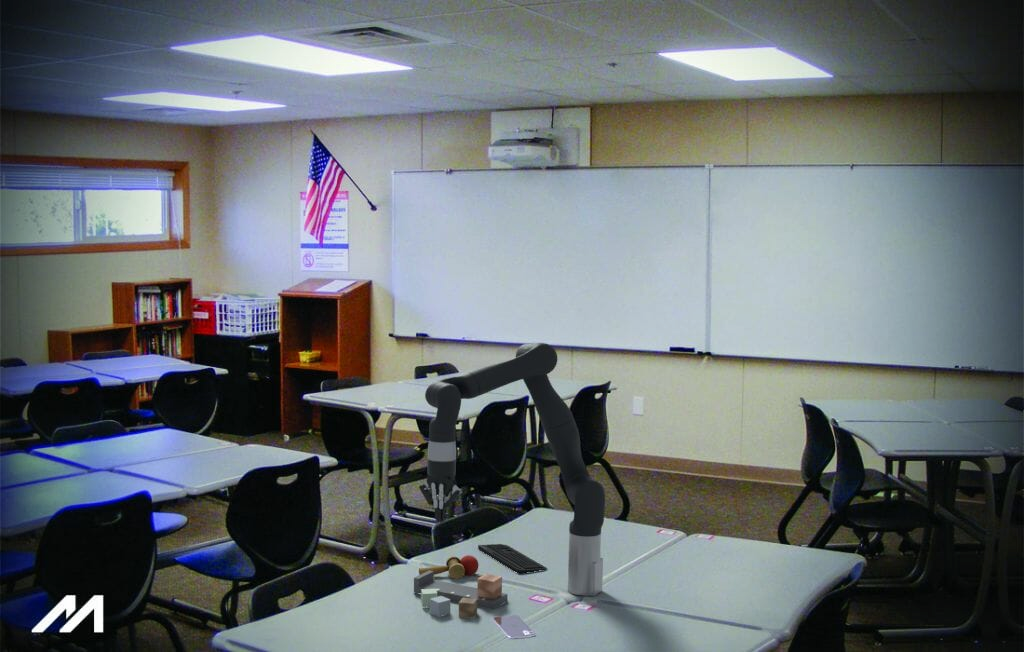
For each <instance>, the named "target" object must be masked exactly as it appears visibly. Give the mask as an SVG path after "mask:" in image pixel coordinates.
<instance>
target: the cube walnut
mask: <svg viewBox="0 0 1024 652" xmlns="http://www.w3.org/2000/svg"><path fill="white" fill-rule="evenodd" d="M477 614H478V606H477V599H474V598H462V599H461V600H460V602H458V617H459V618H468V619H469V618H470V619H474V618H475V616H476V615H477Z"/></svg>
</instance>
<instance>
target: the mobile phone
mask: <svg viewBox="0 0 1024 652" xmlns="http://www.w3.org/2000/svg"><path fill="white" fill-rule="evenodd" d="M492 622H494V624H495V623H496V624H495V625H496V626H497V628H499V629H500V630H501V632H502V631H503V632H502V634H504V635H505V637H506V638H507V639H509V640H515V639H514V638H518V639H522V638H521V637H527V636H534V635H536V636H537V634H536V632H535V631H534V630H533V629H532V628H531V627H530V626H529V625H528V624H527V623H526V622H525V621H524V619H522V618H521V616H519V615H515V614H514V615H507V616H506V615H504V616H496V617H493V618H492Z"/></svg>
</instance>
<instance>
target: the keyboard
mask: <svg viewBox="0 0 1024 652" xmlns="http://www.w3.org/2000/svg"><path fill="white" fill-rule="evenodd" d="M477 546H478V547H477V550H478V549H479V550H478V551H479V552H481V551H482V552H481V553H483V552H484V553H483V554H485V555H486V554H487V556H488V555H489V556H491V557H492V558H491V557H490V558H491V559H493V558H494V559H496V560H497V561H496V560H495V561H496V562H498V561H499V562H500V563H499V562H498V563H499V564H501V563H502V564H503V566H504V565H505V566H504V567H506V566H507V567H508V568H507V567H506V568H507V569H509V568H510V569H511V571H512V570H513V571H512V572H514V571H515V572H517V573H519V574H518V575H523V574H522V573H526V574H528V573H527V572H533V573H535V572H534V571H539V570H546V569H547V570H548V568H547V567H546V566H544V565H542V564H541V563H540V562H538V561H536V560H534V559H532V558H531V559H530V557H528V556H527V555H525V554H523V553H522V552H520V551H518V550H516V549H514V548H513V547H511V546H510V545H507V544H502V543H494V544H493V543H492V544H478V545H477ZM489 556H488V557H489ZM494 559H493V560H494ZM537 562H538V563H537ZM502 564H501V565H502ZM510 569H509V570H510ZM547 570H546V571H547ZM515 572H514V573H515ZM517 573H516V574H517Z"/></svg>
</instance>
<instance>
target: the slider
mask: <svg viewBox="0 0 1024 652" xmlns="http://www.w3.org/2000/svg"><path fill="white" fill-rule="evenodd" d="M476 588H477V596H478V597H483V598H488V599H495V598H496V597H498V596H500V595H501V594H502V593H503V576H500V575H496V574H491V573H490V574H489V573H485V574H483V575H482V576H480V577H477V587H476Z"/></svg>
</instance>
